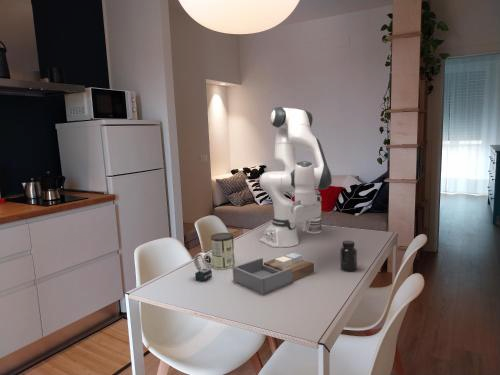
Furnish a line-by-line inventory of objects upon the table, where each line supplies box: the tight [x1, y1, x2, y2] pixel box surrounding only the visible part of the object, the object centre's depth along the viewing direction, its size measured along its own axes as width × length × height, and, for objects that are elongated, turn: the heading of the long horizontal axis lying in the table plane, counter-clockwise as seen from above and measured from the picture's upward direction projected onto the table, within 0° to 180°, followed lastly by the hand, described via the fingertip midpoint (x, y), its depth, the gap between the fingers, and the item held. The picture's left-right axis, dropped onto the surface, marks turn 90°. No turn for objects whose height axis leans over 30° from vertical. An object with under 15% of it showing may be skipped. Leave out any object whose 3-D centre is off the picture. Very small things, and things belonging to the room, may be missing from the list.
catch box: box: [232, 257, 294, 296], centre depth 147 cm, size 18×16×6 cm
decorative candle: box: [306, 189, 322, 234], centre depth 216 cm, size 9×9×25 cm
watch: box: [193, 252, 213, 283], centre depth 152 cm, size 6×8×11 cm
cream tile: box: [274, 255, 292, 268], centre depth 154 cm, size 5×5×2 cm
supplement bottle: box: [339, 240, 358, 273], centre depth 156 cm, size 7×7×12 cm
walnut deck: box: [263, 254, 315, 282], centre depth 156 cm, size 16×14×4 cm
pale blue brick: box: [284, 252, 303, 264], centre depth 157 cm, size 5×5×2 cm
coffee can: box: [210, 232, 236, 270], centre depth 167 cm, size 10×10×14 cm
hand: (305, 230), depth 161 cm, fingers closed
